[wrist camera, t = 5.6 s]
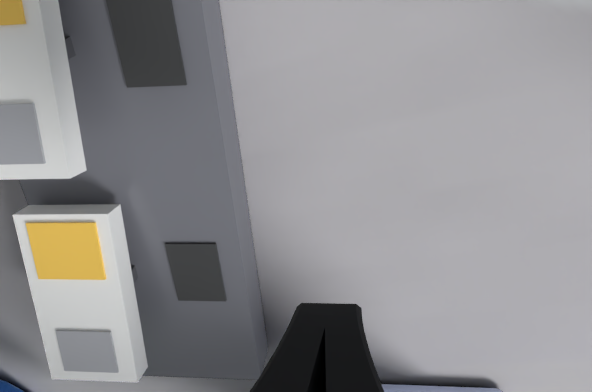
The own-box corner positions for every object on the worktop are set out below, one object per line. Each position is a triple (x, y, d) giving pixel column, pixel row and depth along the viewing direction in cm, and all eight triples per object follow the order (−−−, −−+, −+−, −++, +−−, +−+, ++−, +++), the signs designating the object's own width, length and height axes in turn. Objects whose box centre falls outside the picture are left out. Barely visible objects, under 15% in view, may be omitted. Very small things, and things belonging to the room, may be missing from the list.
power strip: (268, 346, 26) (257, 394, 23) (109, 342, 27) (84, 387, 24) (191, -193, 15) (158, -207, 13) (-63, -164, 16) (-136, -171, 14)
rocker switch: (147, 366, 22) (136, 384, 21) (65, 363, 22) (50, 380, 21) (120, 204, 20) (106, 214, 19) (28, 205, 20) (10, 215, 19)
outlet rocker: (86, 170, 17) (68, 179, 16) (-16, 172, 18) (-40, 181, 17) (46, -70, 15) (23, -77, 14) (-68, -60, 16) (-99, -66, 15)
